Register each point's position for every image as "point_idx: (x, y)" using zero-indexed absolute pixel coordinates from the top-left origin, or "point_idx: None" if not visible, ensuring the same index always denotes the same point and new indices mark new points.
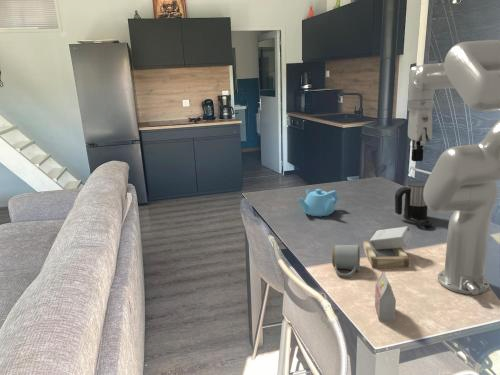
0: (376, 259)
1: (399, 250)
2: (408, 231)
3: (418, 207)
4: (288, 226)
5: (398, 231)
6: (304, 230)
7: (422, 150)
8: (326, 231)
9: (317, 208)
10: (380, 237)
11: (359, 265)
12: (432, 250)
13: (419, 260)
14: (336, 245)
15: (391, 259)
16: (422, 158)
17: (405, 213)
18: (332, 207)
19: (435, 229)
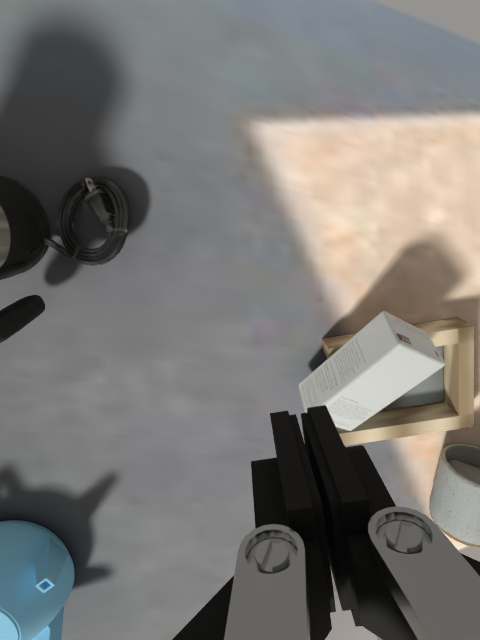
0: (472, 416)
1: None
2: (405, 336)
3: (13, 228)
4: (174, 624)
5: (401, 370)
6: (201, 583)
7: (362, 495)
8: (202, 527)
9: (63, 589)
10: (370, 410)
11: (452, 445)
12: (335, 224)
13: (411, 279)
14: (470, 541)
15: (472, 375)
16: (330, 419)
17: (15, 274)
18: (26, 541)
19: (130, 169)
